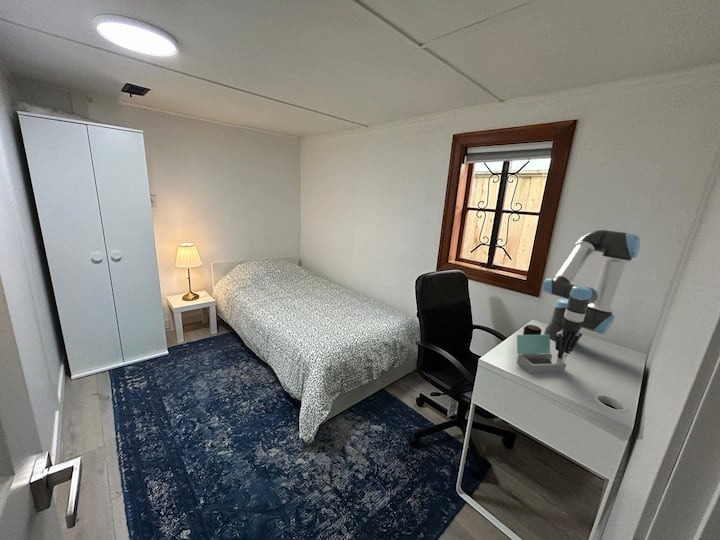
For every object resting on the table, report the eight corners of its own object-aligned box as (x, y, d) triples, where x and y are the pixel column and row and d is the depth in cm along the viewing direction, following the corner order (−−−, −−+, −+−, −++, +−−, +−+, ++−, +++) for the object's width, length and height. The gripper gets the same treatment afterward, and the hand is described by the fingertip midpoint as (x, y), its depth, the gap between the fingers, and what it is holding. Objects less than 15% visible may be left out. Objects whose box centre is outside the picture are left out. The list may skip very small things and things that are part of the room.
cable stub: (546, 366, 144) (545, 358, 145) (552, 367, 141) (551, 359, 141) (528, 366, 142) (527, 359, 143) (533, 367, 139) (533, 360, 139)
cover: (550, 353, 147) (549, 353, 147) (549, 334, 147) (548, 334, 148) (518, 353, 143) (517, 353, 144) (517, 335, 144) (516, 334, 144)
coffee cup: (540, 354, 153) (546, 331, 150) (524, 353, 153) (530, 330, 150) (531, 346, 161) (536, 324, 158) (516, 344, 161) (521, 322, 158)
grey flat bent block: (548, 360, 147) (550, 353, 146) (564, 372, 138) (566, 364, 137) (516, 361, 144) (518, 354, 143) (530, 373, 135) (532, 365, 134)
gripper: (578, 315, 142) (564, 359, 148) (554, 315, 139) (542, 359, 145) (592, 322, 134) (577, 368, 141) (567, 322, 132) (554, 368, 138)
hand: (559, 363), depth 143 cm, fingers closed
